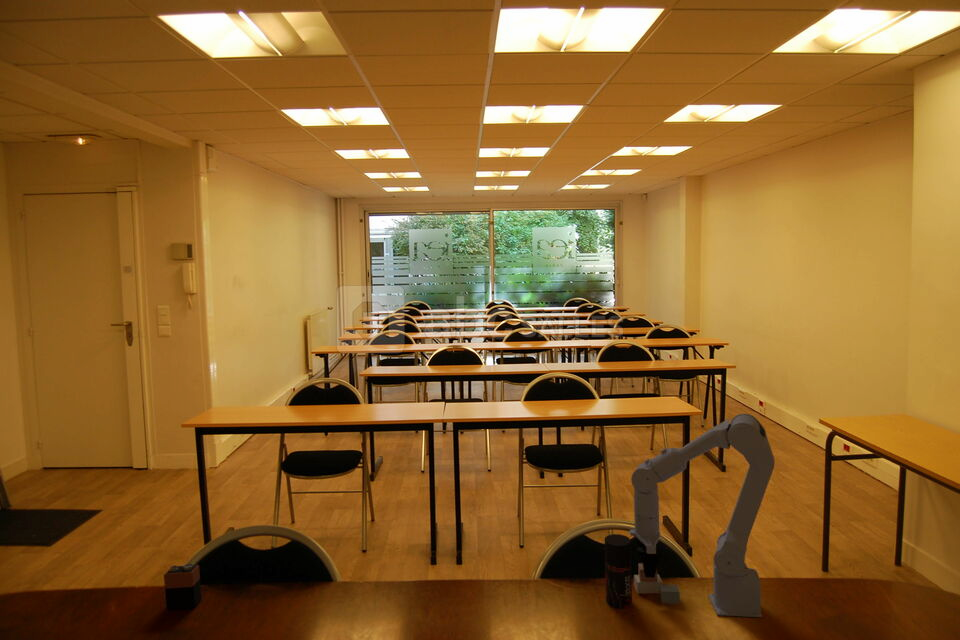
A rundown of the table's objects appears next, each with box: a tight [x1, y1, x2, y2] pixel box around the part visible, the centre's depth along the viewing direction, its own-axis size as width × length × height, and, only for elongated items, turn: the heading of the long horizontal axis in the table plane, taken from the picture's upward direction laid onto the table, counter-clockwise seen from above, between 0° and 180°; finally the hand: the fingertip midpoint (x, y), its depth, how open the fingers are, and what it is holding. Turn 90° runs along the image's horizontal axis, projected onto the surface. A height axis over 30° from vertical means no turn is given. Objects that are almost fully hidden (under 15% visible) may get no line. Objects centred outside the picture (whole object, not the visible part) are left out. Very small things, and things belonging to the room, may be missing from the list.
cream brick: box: [633, 573, 663, 595], centre depth 138 cm, size 6×4×3 cm, turn 88°
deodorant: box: [604, 533, 633, 610], centre depth 133 cm, size 6×6×15 cm
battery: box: [163, 563, 203, 611], centre depth 139 cm, size 4×7×10 cm, turn 93°
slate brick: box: [659, 584, 681, 605], centre depth 133 cm, size 4×3×3 cm
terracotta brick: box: [637, 562, 658, 582], centre depth 138 cm, size 4×3×3 cm
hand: (647, 568), depth 138 cm, fingers open, 7 cm apart
